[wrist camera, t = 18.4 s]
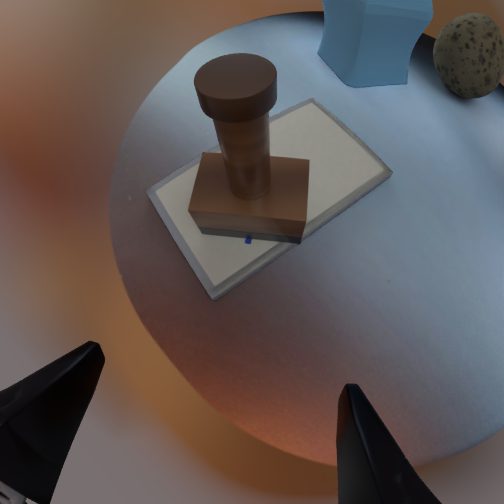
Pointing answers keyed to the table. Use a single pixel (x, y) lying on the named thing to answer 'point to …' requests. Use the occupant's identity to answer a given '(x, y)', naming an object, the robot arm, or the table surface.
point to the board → (319, 194)
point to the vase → (372, 39)
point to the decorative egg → (470, 55)
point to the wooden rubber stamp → (246, 157)
